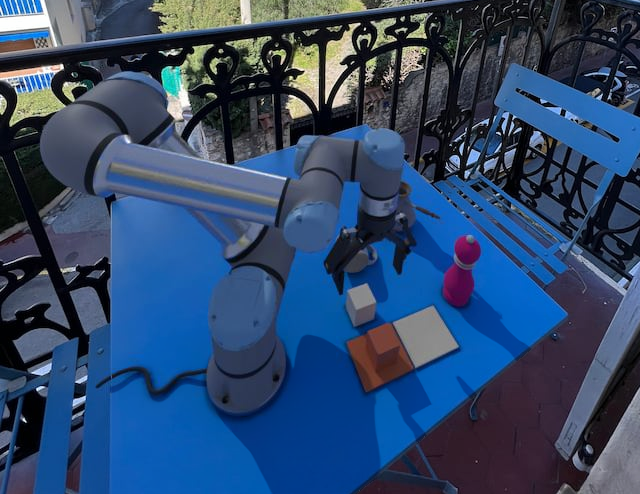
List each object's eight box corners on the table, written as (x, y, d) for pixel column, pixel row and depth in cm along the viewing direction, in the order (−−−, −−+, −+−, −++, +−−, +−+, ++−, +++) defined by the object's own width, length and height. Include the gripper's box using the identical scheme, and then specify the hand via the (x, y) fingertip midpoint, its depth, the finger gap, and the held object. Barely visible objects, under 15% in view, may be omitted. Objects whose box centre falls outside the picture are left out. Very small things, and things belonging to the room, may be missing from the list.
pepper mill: (435, 285, 101) (448, 227, 93) (459, 278, 104) (474, 220, 95) (450, 312, 95) (466, 253, 87) (476, 303, 98) (494, 245, 89)
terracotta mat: (365, 393, 79) (365, 391, 79) (346, 343, 87) (346, 342, 87) (413, 369, 83) (413, 368, 83) (390, 324, 91) (391, 323, 91)
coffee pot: (368, 216, 120) (372, 176, 114) (397, 201, 126) (403, 163, 120) (416, 270, 105) (424, 228, 98) (446, 250, 111) (456, 210, 105)
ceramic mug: (341, 278, 101) (344, 256, 98) (333, 251, 108) (335, 230, 105) (381, 269, 104) (384, 248, 101) (371, 244, 111) (374, 223, 108)
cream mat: (415, 368, 84) (416, 367, 83) (392, 323, 92) (393, 322, 91) (458, 347, 88) (458, 346, 88) (433, 306, 96) (433, 305, 96)
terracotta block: (375, 372, 82) (378, 355, 79) (365, 348, 86) (367, 331, 83) (396, 362, 84) (400, 345, 81) (385, 339, 88) (388, 322, 85)
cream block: (354, 327, 90) (356, 310, 88) (345, 307, 94) (347, 290, 92) (374, 319, 92) (376, 302, 90) (365, 299, 96) (367, 282, 94)
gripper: (321, 236, 69) (318, 315, 78) (443, 202, 79) (427, 276, 88) (309, 205, 75) (307, 282, 84) (423, 177, 85) (410, 248, 94)
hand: (368, 279), depth 86 cm, fingers open, 13 cm apart
